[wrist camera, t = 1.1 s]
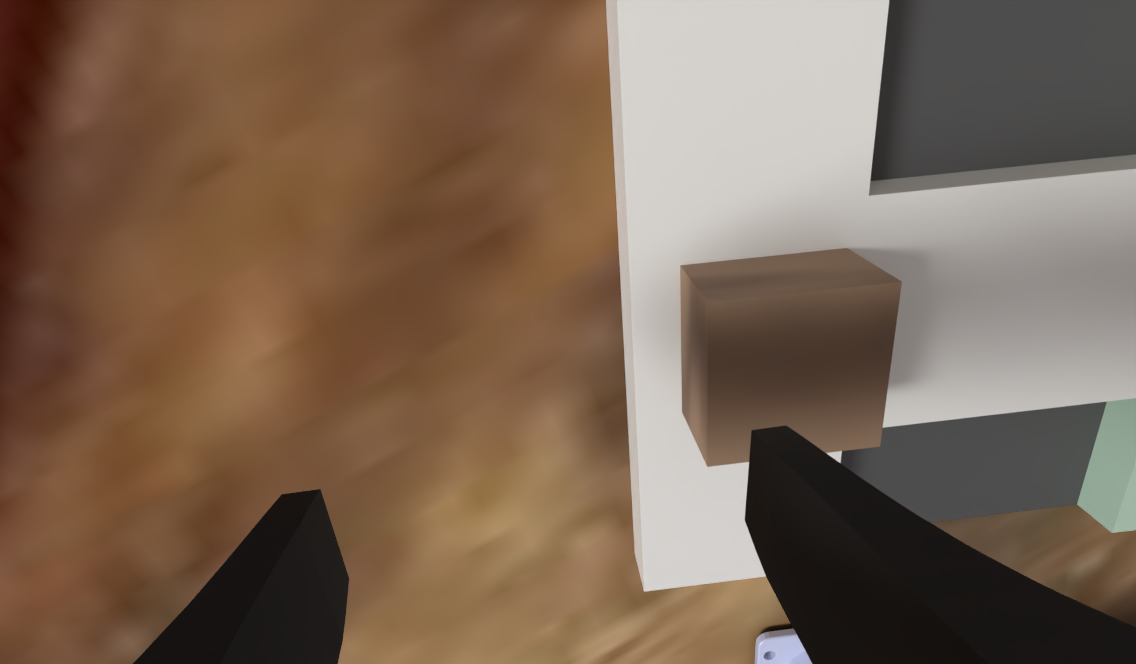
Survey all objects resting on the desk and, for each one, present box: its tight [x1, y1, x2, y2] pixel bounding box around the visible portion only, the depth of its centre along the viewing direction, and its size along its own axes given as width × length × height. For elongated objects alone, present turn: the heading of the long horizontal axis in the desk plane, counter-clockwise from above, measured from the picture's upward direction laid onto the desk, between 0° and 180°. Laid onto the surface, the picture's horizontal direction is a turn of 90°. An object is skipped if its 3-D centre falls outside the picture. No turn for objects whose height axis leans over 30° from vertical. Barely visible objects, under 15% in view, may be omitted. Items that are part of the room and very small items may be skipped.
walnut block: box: [680, 248, 902, 467], centre depth 19 cm, size 5×5×3 cm
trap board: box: [606, 0, 1136, 591], centre depth 22 cm, size 20×26×2 cm
